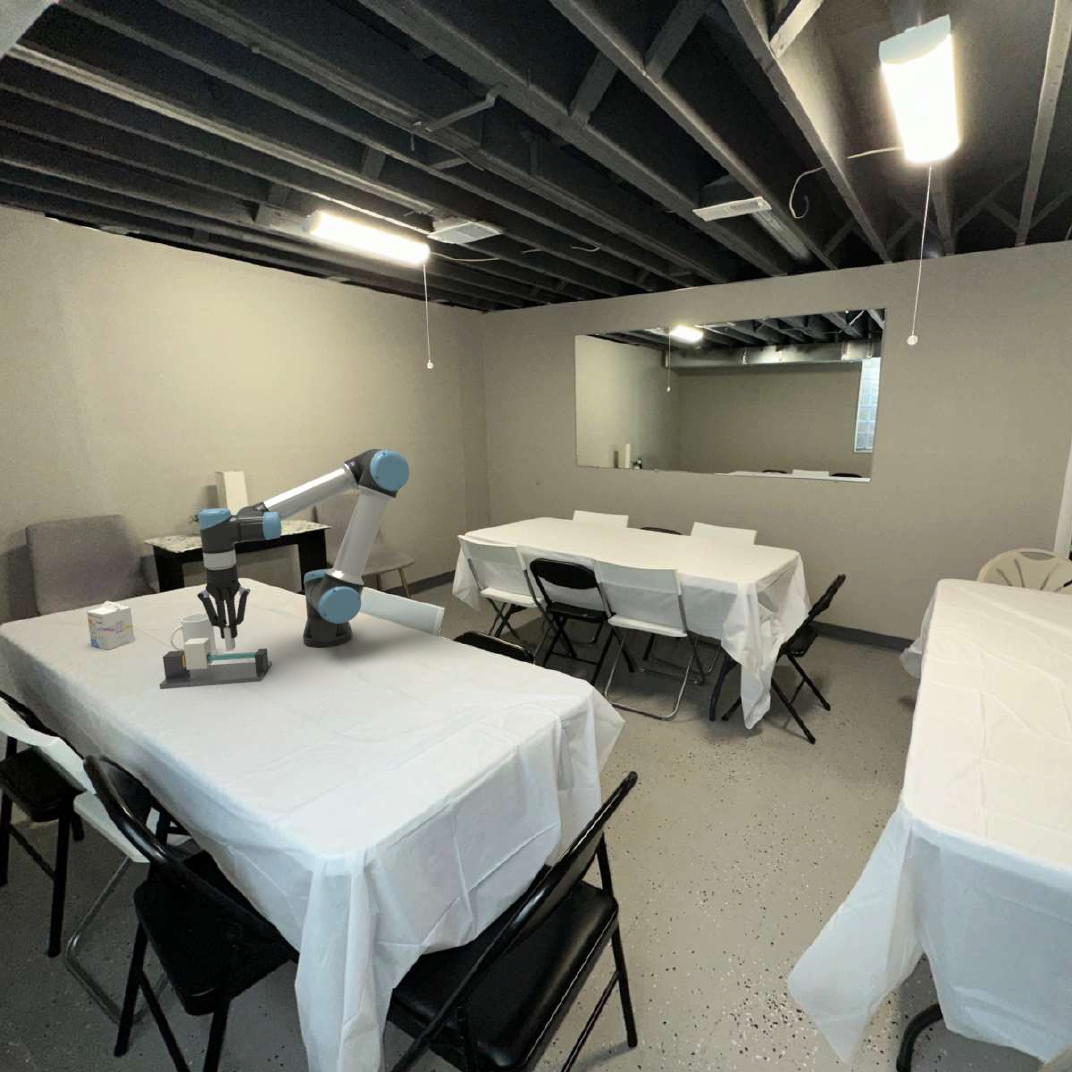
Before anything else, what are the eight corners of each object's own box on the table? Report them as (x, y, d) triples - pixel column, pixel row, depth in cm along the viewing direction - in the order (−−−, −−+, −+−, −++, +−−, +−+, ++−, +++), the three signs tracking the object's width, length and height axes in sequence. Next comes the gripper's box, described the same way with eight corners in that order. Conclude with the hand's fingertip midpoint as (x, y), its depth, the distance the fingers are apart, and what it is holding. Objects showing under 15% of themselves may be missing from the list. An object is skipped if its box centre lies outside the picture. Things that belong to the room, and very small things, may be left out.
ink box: (90, 646, 179) (84, 605, 177) (118, 637, 187) (112, 598, 184) (108, 650, 176) (101, 609, 173) (135, 641, 184) (130, 601, 181)
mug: (176, 666, 164) (171, 627, 162) (168, 658, 170) (163, 620, 168) (221, 655, 172) (216, 617, 170) (212, 647, 178) (207, 611, 176)
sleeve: (212, 662, 159) (209, 637, 157) (206, 668, 155) (203, 643, 153) (193, 663, 158) (190, 638, 156) (186, 669, 154) (183, 644, 152)
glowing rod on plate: (272, 664, 165) (269, 640, 164) (260, 681, 154) (258, 655, 153) (178, 671, 161) (175, 646, 159) (160, 688, 150) (156, 662, 149)
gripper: (251, 561, 157) (260, 642, 162) (200, 564, 155) (210, 645, 159) (242, 568, 150) (251, 652, 154) (188, 571, 148) (200, 656, 152)
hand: (230, 648), depth 157 cm, fingers closed
